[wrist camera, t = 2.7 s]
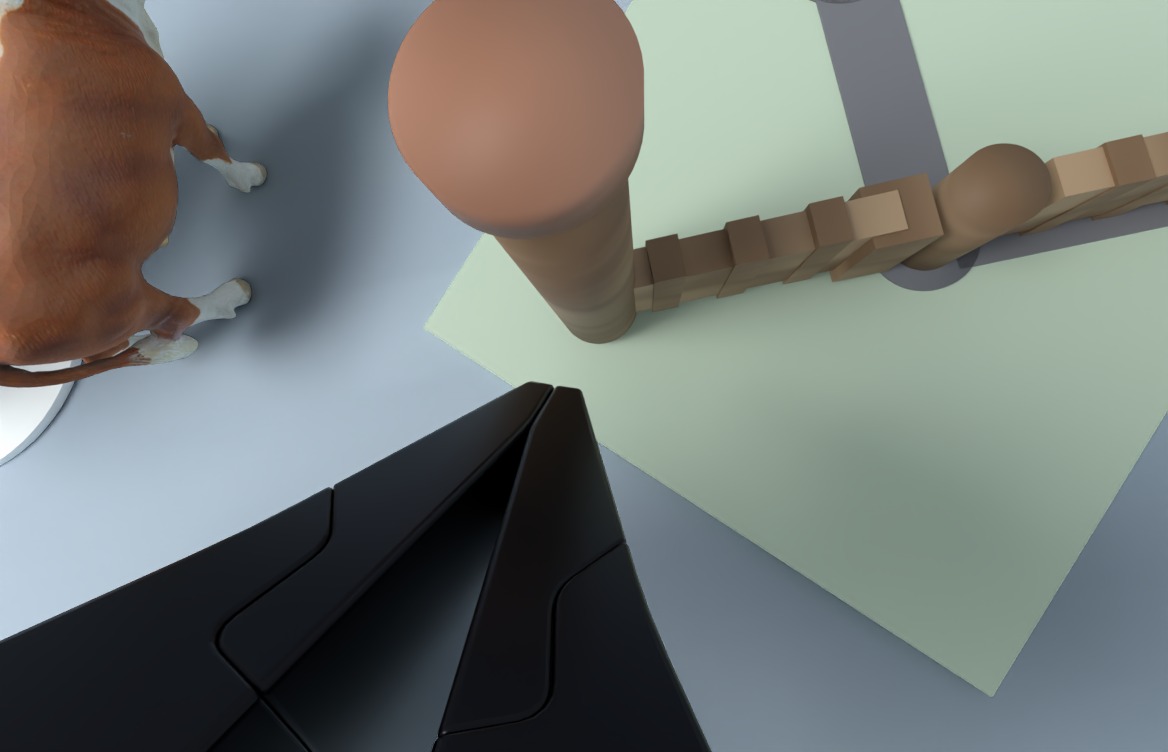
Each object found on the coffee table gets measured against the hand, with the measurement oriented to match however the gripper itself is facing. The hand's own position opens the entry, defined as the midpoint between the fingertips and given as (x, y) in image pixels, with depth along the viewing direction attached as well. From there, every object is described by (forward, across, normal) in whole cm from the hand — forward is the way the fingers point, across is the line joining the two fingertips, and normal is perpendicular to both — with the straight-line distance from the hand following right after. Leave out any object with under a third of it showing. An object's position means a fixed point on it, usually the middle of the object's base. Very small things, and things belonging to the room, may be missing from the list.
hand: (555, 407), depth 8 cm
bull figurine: (+10, -15, -3) cm, 18 cm away
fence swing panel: (+9, +3, -2) cm, 10 cm away
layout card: (+12, +7, 0) cm, 14 cm away
